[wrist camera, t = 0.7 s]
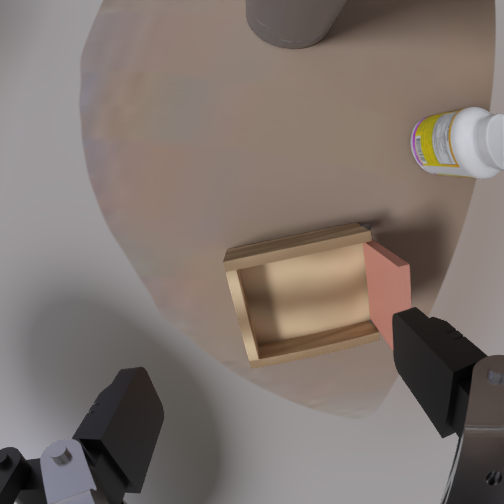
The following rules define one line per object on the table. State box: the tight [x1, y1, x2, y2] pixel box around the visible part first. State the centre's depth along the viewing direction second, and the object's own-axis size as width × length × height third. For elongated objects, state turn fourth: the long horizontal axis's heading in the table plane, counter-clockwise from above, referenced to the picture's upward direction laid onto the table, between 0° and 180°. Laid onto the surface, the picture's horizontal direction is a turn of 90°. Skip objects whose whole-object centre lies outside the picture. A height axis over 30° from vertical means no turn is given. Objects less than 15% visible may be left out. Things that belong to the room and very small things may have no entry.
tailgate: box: [363, 239, 411, 350], centre depth 28 cm, size 9×1×9 cm, turn 12°
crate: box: [223, 223, 380, 369], centre depth 33 cm, size 12×15×4 cm
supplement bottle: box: [411, 107, 504, 179], centre depth 25 cm, size 7×7×13 cm
